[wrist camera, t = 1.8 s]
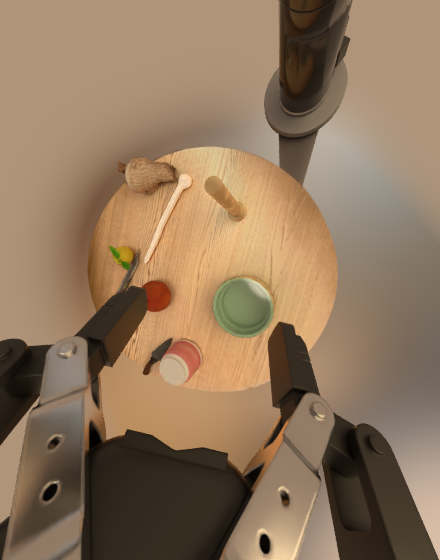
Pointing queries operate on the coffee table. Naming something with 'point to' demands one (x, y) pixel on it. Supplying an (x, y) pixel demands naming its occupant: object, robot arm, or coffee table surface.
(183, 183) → the cream knobbed rod
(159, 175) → the figurine
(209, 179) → the stick
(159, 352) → the knife
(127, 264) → the lemon
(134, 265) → the knife
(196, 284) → the coffee table surface
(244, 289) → the bowl
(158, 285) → the fruit
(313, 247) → the coffee table surface
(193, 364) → the container
